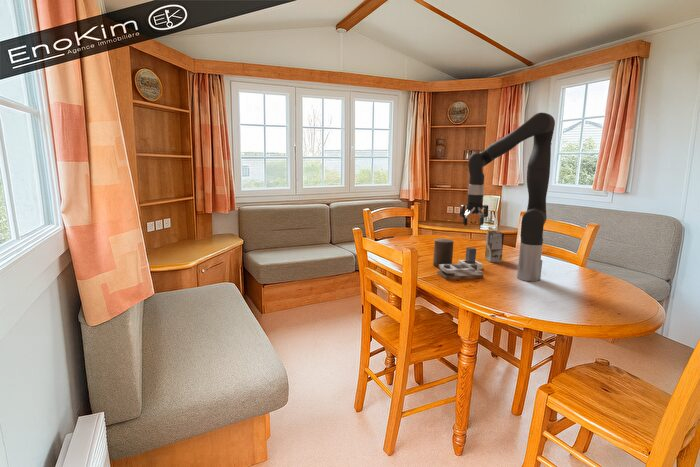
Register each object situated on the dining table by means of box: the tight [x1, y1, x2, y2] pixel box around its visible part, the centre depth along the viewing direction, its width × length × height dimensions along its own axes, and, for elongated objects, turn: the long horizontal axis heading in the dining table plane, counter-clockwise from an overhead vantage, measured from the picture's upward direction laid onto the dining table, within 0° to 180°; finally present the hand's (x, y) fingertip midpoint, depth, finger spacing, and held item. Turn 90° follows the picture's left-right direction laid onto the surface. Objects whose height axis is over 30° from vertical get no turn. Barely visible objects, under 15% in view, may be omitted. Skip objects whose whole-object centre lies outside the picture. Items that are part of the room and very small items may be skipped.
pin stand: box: [457, 259, 483, 270], centre depth 194 cm, size 9×9×2 cm
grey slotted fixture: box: [436, 263, 484, 281], centre depth 180 cm, size 19×10×6 cm, turn 100°
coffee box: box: [484, 230, 505, 263], centre depth 206 cm, size 9×6×16 cm
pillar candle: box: [432, 238, 455, 268], centre depth 195 cm, size 10×10×15 cm
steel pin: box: [464, 246, 477, 264], centre depth 194 cm, size 4×4×10 cm
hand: (473, 225), depth 190 cm, fingers open, 8 cm apart
